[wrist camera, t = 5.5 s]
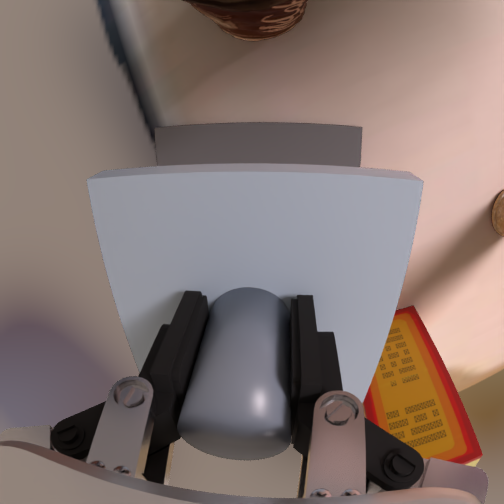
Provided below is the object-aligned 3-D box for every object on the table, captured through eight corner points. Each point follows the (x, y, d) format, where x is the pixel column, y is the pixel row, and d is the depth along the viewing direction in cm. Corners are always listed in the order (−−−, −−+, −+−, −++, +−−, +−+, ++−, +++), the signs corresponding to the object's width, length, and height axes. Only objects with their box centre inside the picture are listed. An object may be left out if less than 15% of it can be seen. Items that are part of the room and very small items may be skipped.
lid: (103, 170, 10) (-18, 245, 5) (409, 172, 10) (519, 259, 4) (153, 375, 16) (117, 471, 10) (359, 385, 15) (375, 491, 9)
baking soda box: (410, 372, 29) (450, 501, 15) (353, 387, 30) (374, 524, 16) (413, 305, 25) (484, 459, 11) (344, 323, 26) (380, 495, 12)
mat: (156, 127, 20) (154, 128, 20) (360, 126, 19) (362, 127, 19) (175, 297, 26) (174, 300, 26) (342, 302, 25) (343, 304, 25)
